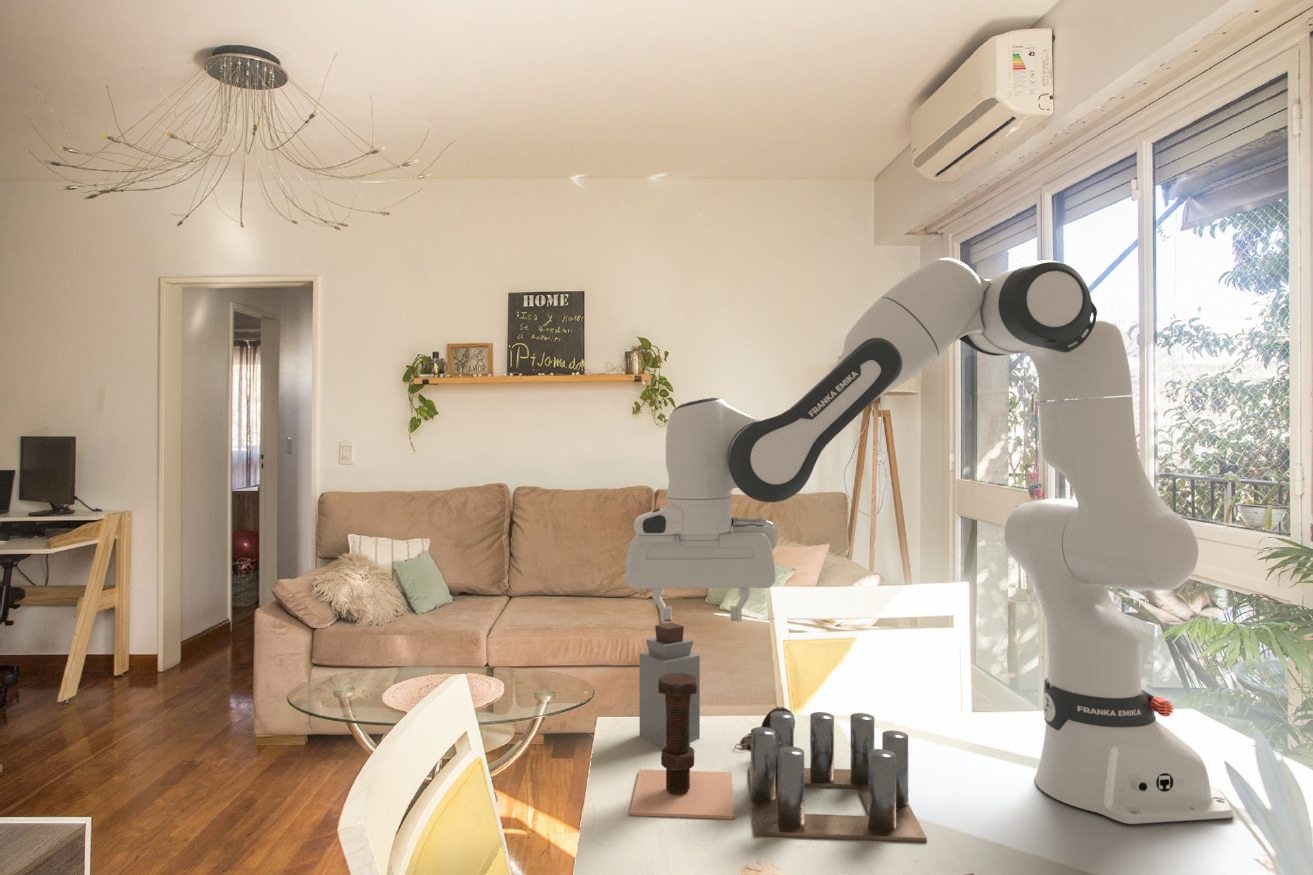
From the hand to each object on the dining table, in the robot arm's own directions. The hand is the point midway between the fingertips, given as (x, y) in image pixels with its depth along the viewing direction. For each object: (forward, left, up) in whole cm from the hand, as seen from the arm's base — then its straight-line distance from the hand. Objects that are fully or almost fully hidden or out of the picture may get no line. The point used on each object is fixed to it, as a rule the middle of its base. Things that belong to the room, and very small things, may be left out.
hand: (701, 620), depth 107 cm
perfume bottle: (+5, -17, -23) cm, 29 cm away
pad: (+2, +2, -23) cm, 23 cm away
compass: (-9, -15, -23) cm, 29 cm away
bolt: (+3, +2, -23) cm, 23 cm away
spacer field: (-17, +3, -23) cm, 28 cm away
